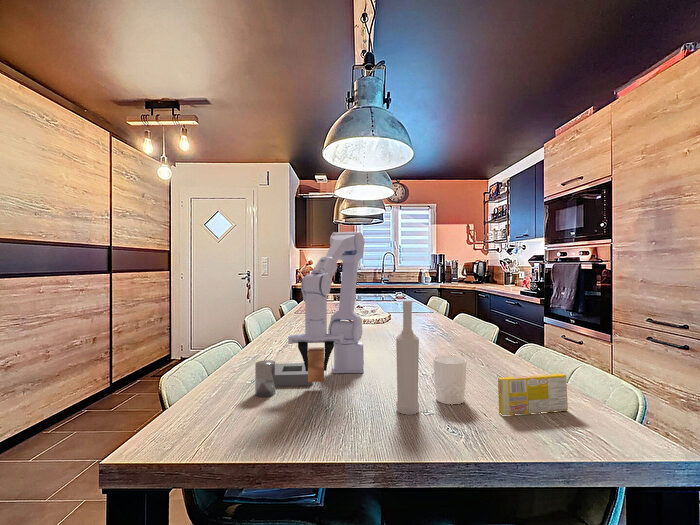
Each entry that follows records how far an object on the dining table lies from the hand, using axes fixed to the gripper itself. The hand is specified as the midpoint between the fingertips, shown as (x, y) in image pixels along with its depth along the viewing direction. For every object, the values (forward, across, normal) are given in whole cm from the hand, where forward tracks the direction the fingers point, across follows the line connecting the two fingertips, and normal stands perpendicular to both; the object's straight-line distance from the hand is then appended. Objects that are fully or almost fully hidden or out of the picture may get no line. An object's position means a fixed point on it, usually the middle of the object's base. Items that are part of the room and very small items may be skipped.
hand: (316, 370), depth 98 cm
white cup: (+6, +33, -10) cm, 35 cm away
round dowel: (+5, -13, -2) cm, 14 cm away
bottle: (+5, +21, -16) cm, 27 cm away
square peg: (+2, 0, 0) cm, 2 cm away
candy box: (+6, +49, -19) cm, 53 cm away
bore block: (+5, -7, +10) cm, 13 cm away
